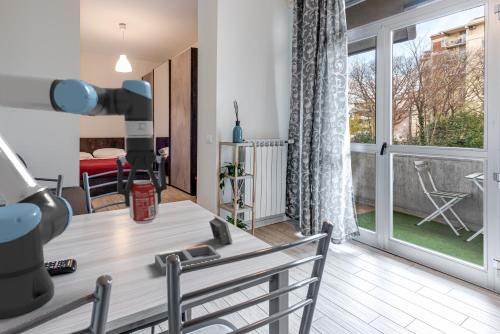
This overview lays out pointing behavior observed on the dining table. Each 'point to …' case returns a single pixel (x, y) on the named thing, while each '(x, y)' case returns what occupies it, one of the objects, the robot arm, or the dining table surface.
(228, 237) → the electrical switch
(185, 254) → the socket board
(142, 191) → the beverage can
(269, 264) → the dining table surface
